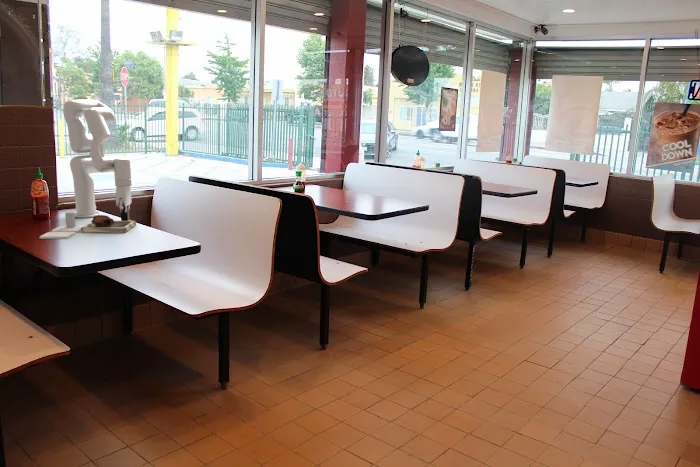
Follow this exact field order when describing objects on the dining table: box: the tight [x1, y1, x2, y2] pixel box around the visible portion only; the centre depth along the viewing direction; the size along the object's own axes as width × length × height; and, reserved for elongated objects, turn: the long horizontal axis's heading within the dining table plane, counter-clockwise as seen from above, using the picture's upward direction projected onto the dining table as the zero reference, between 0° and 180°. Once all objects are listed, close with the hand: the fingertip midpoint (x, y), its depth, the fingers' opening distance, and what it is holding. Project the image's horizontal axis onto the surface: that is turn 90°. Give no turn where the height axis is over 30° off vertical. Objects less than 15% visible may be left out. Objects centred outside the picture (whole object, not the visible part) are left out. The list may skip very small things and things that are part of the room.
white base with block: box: [39, 211, 83, 240], centre depth 273 cm, size 21×12×8 cm, turn 3°
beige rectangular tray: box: [80, 207, 137, 233], centre depth 287 cm, size 24×20×8 cm
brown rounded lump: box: [90, 214, 115, 227], centre depth 282 cm, size 12×10×8 cm
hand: (125, 219), depth 297 cm, fingers closed on beige rectangular tray, 3 cm apart
